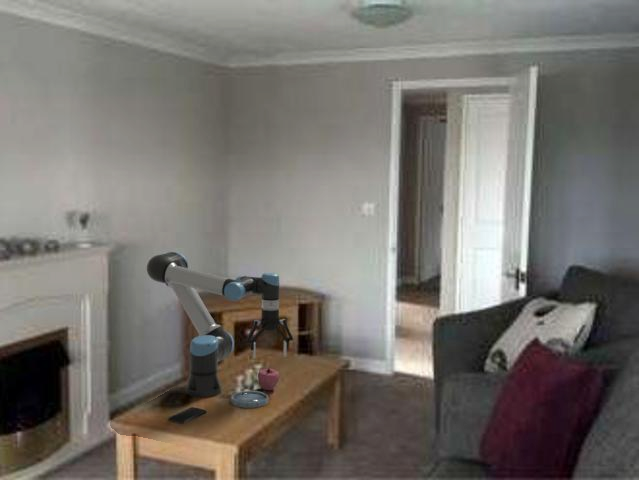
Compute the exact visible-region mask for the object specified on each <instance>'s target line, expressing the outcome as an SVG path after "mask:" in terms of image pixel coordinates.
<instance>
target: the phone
mask: <svg viewBox="0 0 639 480" xmlns="http://www.w3.org/2000/svg"><path fill="white" fill-rule="evenodd" d="M207 412H208V411H207V409H202V408H198V407H193V406H192V407H189V408H187V409H185V410H183V411H180V412H179V413H176V414H173V415H172V416H169V417H168V418H167V420H168V421H169V422H172V423H176V424H181V425H185V424H187V423H190V422H191V421H193V420H196V419H197V418H199V417H201V416H203V415H204V416H205V414H207Z"/></svg>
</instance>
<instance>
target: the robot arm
mask: <svg viewBox="0 0 639 480" xmlns="http://www.w3.org/2000/svg"><path fill="white" fill-rule="evenodd" d="M146 273H147V275H148V276H149V278H150V279H152V281H154V282H158V283H163V284H165V285H166V286H167V288H170V289H172V290H173V292H174V293H175V295H176V297H177V300H179V302H180V304H181V305H182V307H183V309H184V311H185V312H186V314H187V316H188V317H189V319H190V321H191V323H192V324H193V326H194V328H195V329H196V331H197V333H198V336H196V337H194V338H193V339H191V341H190V346H189V352H190V353H189V377H188V379H187V382H186V384H185V385H186V386H185V394H186V393H187V394H186V395H188V394H189V395H188V396H191V397H194V398H209V397H214V396H218V395H219V394H220V393H222V384H221V382H220V377H219V375H218V368H219V367H218V363H220V362H221V361H222V360H224V359H226V358H228V357H229V355H232V353H233V350H234V348H235V341H234V338H233V335H232V334H231V333H230V332H228V331H225V330H224V329H223V327H222V326H221V325H220V324H217V323H216V322H215V319H214V318H213V317H212V315H211V314H210V312H209V310H208V309H207V307H206V305H205V303H204V301H203V300H202V298H201V296H200V295H199V293H198V291H197V290H200V291H204V292H208V293H211V294H215V295H220V296H224V297H226V299H227V300H230V301H239V300H240V299H242V298H245V297H247V296H249V295H259V296H261V308H262V309H261V319H260V320H257V319H254V320H253V325H252V327H251V328H250V329H251V330H250V331H249V333H248V335H247V337H246V339H245V340H246V341H247V343H250V350H251V351H252V358H253V359H256V345H257V344H256V340H258V339H259V337H260V336H261V335H262V334H263V333H264V331H267V332H268V331H275V330H276V331H277V332H278V334H280V336H281V337H282V338H283V339H284V340H283V357H284V358H286V357H287V350H288V349H290V348H289V347H290V342H291V341H293V340H294V337H293V336H292V333H291V332H290V330H289V328H288V325H287V320H286V319H285V318H282V319H280V310H279V308H280V285H281V284H280V275H279V274H278V273H276V272H265V273H262V275H261V276H260V277H256V276H247V275H240V276H237V277H236V278H235V279H231V278H228V277H224V276H219V275H216V274H213V273H212V274H211V273H208V272H204V271H200V270H195V269H192V268H189V262H188V259H187V258H186V257H185V255H183V253H181V252H176V251H171V252H167V253H163V254H161V253H160V254H157V255H154V256H152V257H151V258H150V259H149V260H148V262H147V264H146ZM279 324H281V325H282V326H283V328H284V330H285V332H286V334H287V336H288V337H287V336H286V335H285V333H284V332H283V331H282V330H281V329H280V327H279ZM259 325H261V327H260V328H259V330H257V327H259ZM256 330H257V332H256ZM255 332H256V333H255Z"/></svg>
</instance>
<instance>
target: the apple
mask: <svg viewBox="0 0 639 480" xmlns="http://www.w3.org/2000/svg"><path fill="white" fill-rule="evenodd" d="M257 379H258V381H259V384H260V385H261V387H262V389H263V390H266V391H273V390H274V389H275V387H276V386H277V385H278V382H279V380H280V373H279V371H278V370H275V369H273V368H264V369H261V370H260V369H259V371H258V373H257Z"/></svg>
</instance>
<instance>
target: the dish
mask: <svg viewBox="0 0 639 480" xmlns="http://www.w3.org/2000/svg"><path fill="white" fill-rule="evenodd" d="M242 393H247V394H243V395H242ZM230 400H231V404H232V405H234V406H236V407H239V408H245V409H247V408H248V409H252V408H253V409H254V408H260V407H263V406H266V405H268V403H269V400H270V398H269V395H268V393H265V392H262V391H258V390H243V391H238V392H235V393H234V394H232V395H231V398H230Z"/></svg>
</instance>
